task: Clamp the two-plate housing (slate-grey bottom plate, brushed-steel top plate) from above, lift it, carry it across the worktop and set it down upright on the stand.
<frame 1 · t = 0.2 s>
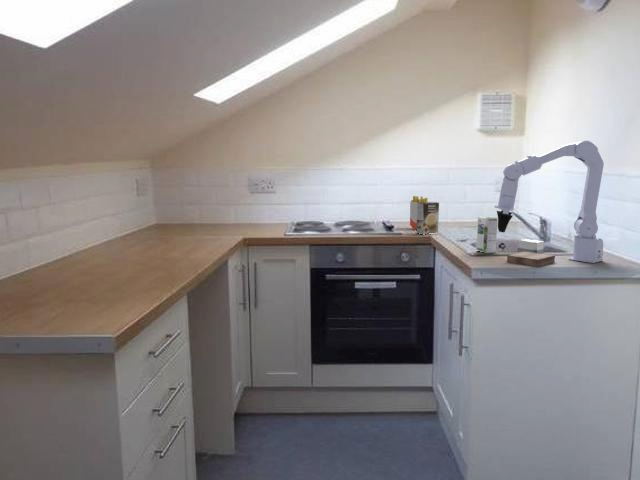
hand: (501, 230, 206), 10 cm above the countertop, tool pointing down, fingers open, 7 cm apart
coffee box: (427, 234, 270), on the countertop
french fries container: (420, 230, 286), on the countertop
syrup box: (486, 252, 219), on the countertop
housing: (530, 255, 210), on the countertop
stand: (530, 262, 197), on the countertop
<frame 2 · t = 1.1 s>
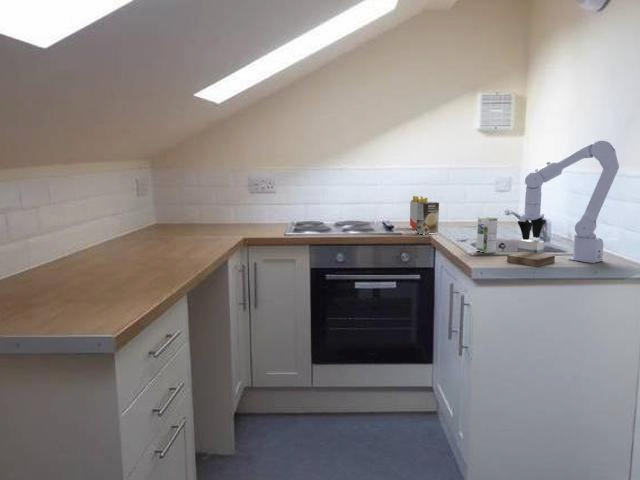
hand: (530, 238, 209), 7 cm above the countertop, tool pointing down, fingers open, 7 cm apart
nothing on the countertop moved.
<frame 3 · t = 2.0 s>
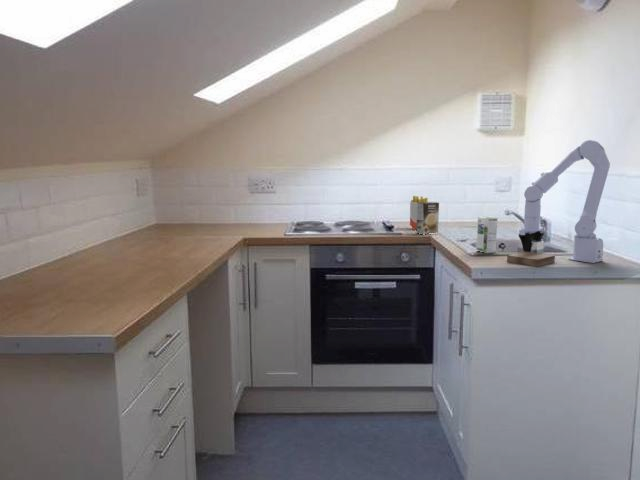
hand: (530, 251, 210), 2 cm above the countertop, tool pointing down, fingers closed on housing, 5 cm apart
housing: (530, 255, 210), on the countertop, touching gripper
everything else where it was.
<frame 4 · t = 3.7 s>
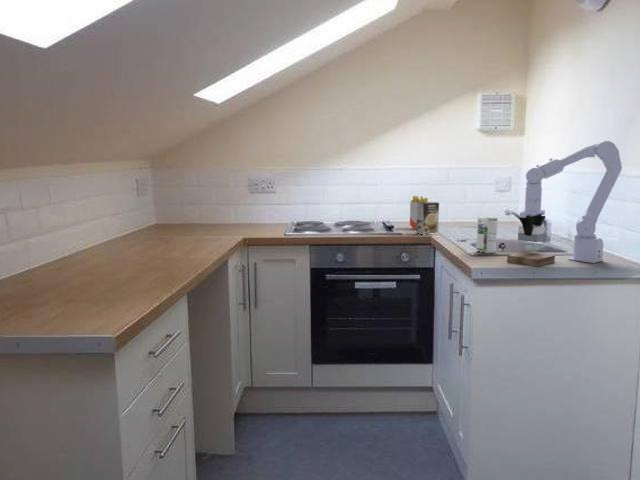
hand: (531, 234, 207), 9 cm above the countertop, tool pointing down, fingers closed on housing, 5 cm apart
housing: (530, 240, 207), point 6 cm above the countertop, touching gripper
everything else where it was.
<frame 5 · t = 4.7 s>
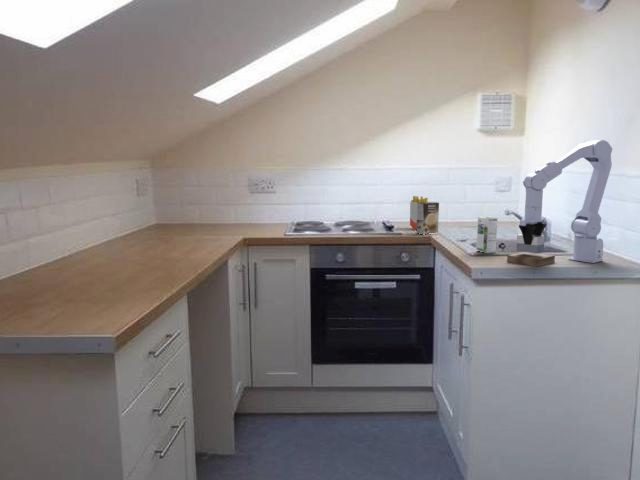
hand: (531, 243, 196), 7 cm above the countertop, tool pointing down, fingers closed on housing, 5 cm apart
housing: (530, 251, 197), point 4 cm above the countertop, touching gripper
everything else where it was.
when the fingers open (6 cm above the countertop, at t = 5.4 s): housing stays where it is, resting on stand.
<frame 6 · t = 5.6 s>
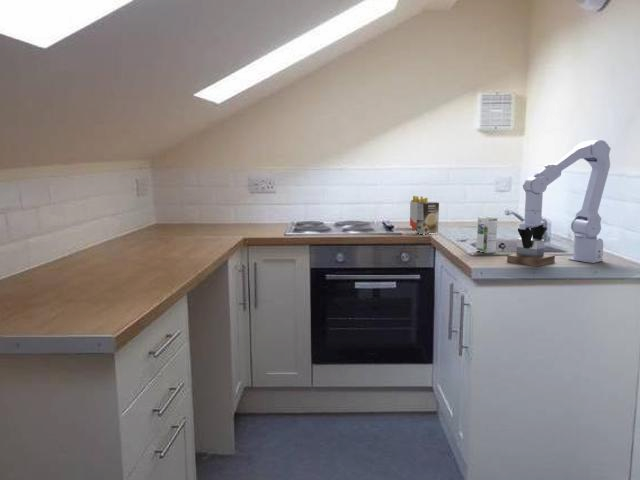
hand: (531, 247, 197), 6 cm above the countertop, tool pointing down, fingers open, 6 cm apart
housing: (529, 255, 197), point 2 cm above the countertop, touching stand
everything else where it was.
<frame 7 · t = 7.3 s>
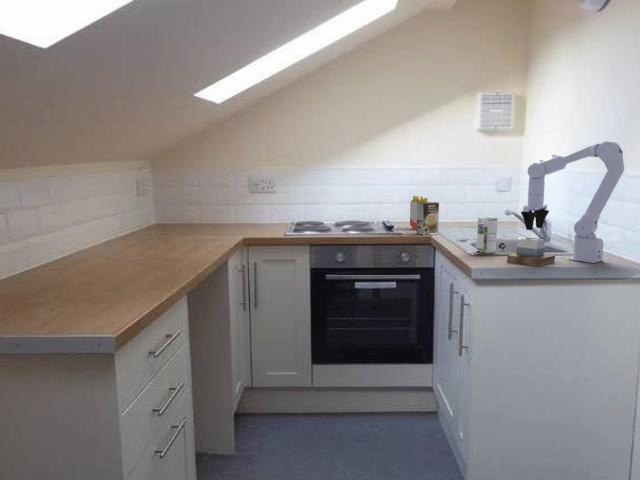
hand: (534, 228, 210), 10 cm above the countertop, tool pointing down, fingers open, 7 cm apart
nothing on the countertop moved.
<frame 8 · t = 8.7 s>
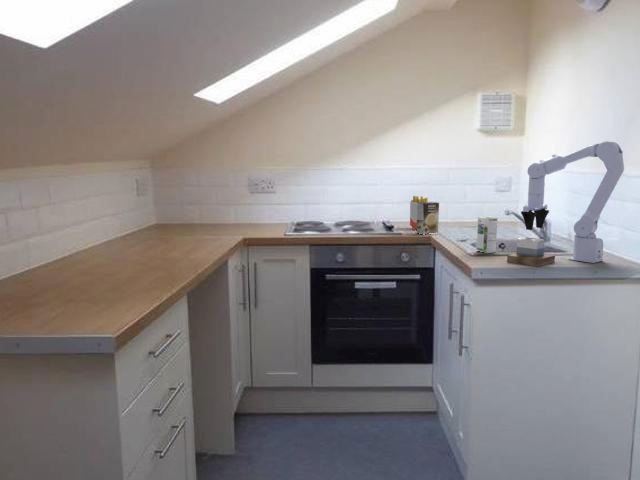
hand: (534, 228, 210), 10 cm above the countertop, tool pointing down, fingers open, 7 cm apart
nothing on the countertop moved.
at the end: housing 0.4 cm off-centre on the stand, point 2.5 cm above the stand's base; housing tilted 0°; the gripper is holding nothing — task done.
